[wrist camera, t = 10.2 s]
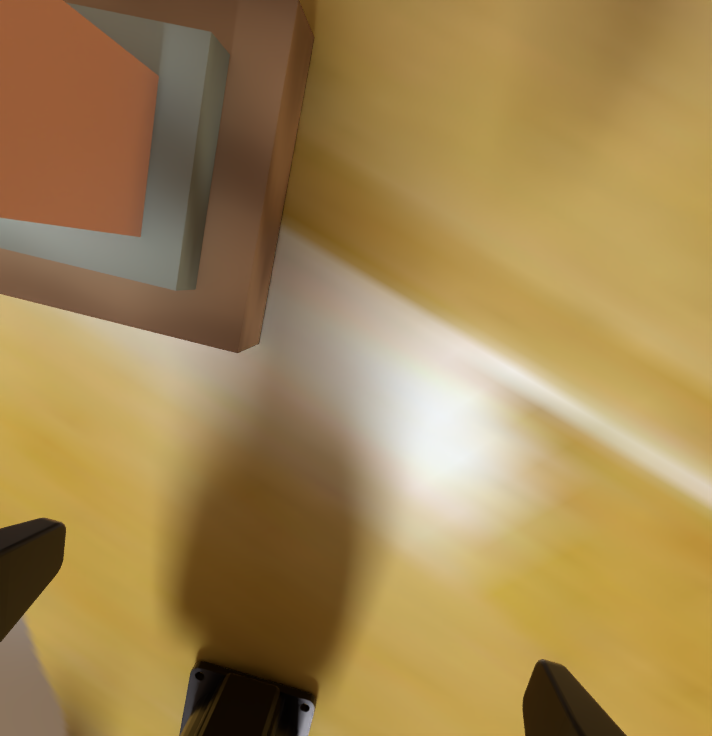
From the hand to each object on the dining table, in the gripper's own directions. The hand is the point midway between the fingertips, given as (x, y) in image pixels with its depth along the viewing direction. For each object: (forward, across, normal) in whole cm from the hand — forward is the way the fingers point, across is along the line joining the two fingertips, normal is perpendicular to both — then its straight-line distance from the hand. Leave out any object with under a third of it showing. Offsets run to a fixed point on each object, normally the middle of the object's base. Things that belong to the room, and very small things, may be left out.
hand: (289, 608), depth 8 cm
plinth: (+12, +11, -8) cm, 18 cm away
